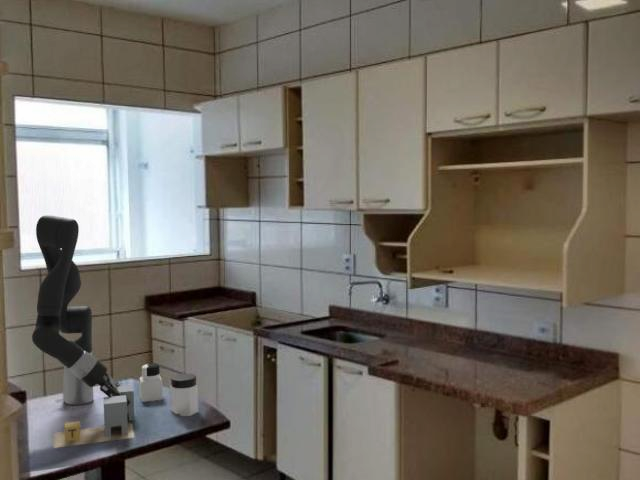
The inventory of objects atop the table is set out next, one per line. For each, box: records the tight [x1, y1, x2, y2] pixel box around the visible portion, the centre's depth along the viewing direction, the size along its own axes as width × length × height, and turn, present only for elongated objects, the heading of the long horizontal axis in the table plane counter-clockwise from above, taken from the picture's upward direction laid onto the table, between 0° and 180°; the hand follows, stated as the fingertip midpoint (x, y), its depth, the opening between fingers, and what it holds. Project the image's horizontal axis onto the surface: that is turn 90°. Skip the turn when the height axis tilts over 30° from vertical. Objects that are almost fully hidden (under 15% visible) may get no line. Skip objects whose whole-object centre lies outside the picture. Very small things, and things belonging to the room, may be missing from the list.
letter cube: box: [64, 420, 81, 441], centre depth 185 cm, size 4×4×4 cm
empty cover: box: [103, 395, 129, 438], centre depth 189 cm, size 6×6×10 cm
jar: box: [169, 373, 199, 418], centre depth 208 cm, size 9×8×12 cm
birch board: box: [52, 423, 136, 449], centre depth 187 cm, size 22×12×1 cm, turn 110°
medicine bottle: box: [139, 363, 164, 403], centre depth 223 cm, size 7×7×12 cm
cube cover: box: [113, 384, 135, 422], centre depth 201 cm, size 6×6×10 cm
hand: (127, 400), depth 201 cm, fingers open, 8 cm apart
